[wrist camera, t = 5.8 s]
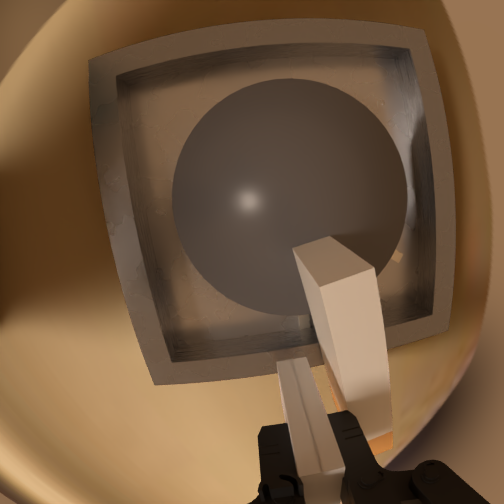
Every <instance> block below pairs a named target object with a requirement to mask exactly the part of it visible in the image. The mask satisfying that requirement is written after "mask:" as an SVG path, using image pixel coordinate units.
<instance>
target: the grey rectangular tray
mask: <svg viewBox="0 0 504 504" xmlns="http://www.w3.org/2000/svg"><path fill="white" fill-rule="evenodd" d="M286 78H294V79H306V80H311V81H316V82H320V83H324V84H327V85H329V86H332V87H335V88H337V89H339V90H341V91H343V92H345V93H347V94H349V95H351V96H352V97H354V98H355V99H357V100H358V101H359V102H361V103H362V104H364V105H365V106H366V107H367V108H368V109H369V110H370V111H371V112H372V113H373V114H374V115H375V116H376V117H377V118H378V119H379V120H380V122H381V123H382V124H383V125H384V126H385V128H386V129H387V131H388V133H389V134H390V136H391V137H392V139H393V141H394V143H395V145H396V147H397V149H398V151H399V154H400V157H401V160H402V163H403V166H404V170H405V175H406V181H407V193H408V202H407V214H406V219H405V224H404V228H403V232H402V235H401V238H400V241H399V243H398V245H397V247H396V249H395V252H394V254H393V255H392V257H391V259H390V260H389V262H388V263H387V265H386V267H385V268H384V269H383V270H382V272H381V273H380V274H379V275H378V276H377V278H376V279H377V285H378V290H379V296H380V303H381V309H382V316H383V323H384V330H385V338H386V347H387V349H390V348H394V347H397V346H401V345H404V344H408V343H411V342H414V341H417V340H421V339H424V338H427V337H430V336H433V335H436V334H439V333H442V332H445V331H448V329H449V322H450V315H451V306H452V297H453V286H454V272H455V250H456V210H455V189H454V175H453V164H452V155H451V147H450V139H449V132H448V126H447V120H446V114H445V109H444V104H443V99H442V94H441V90H440V85H439V81H438V77H437V73H436V69H435V65H434V62H433V58H432V55H431V51H430V48H429V44H428V41H427V38H426V35H425V32H424V30H423V29H417V28H412V27H407V26H401V25H394V24H387V23H379V22H370V21H360V20H347V19H325V18H294V19H272V20H258V21H248V22H239V23H231V24H223V25H217V26H210V27H205V28H199V29H194V30H189V31H184V32H179V33H175V34H170V35H166V36H162V37H158V38H154V39H151V40H147V41H144V42H140V43H137V44H133V45H130V46H127V47H124V48H121V49H118V50H115V51H112V52H109V53H106V54H103V55H101V56H98V57H95V58H93V59H90V60H89V98H90V113H91V125H92V135H93V144H94V153H95V160H96V168H97V175H98V181H99V187H100V193H101V199H102V205H103V210H104V215H105V220H106V225H107V230H108V235H109V239H110V244H111V248H112V252H113V256H114V261H115V265H116V269H117V272H118V276H119V280H120V284H121V287H122V291H123V294H124V298H125V301H126V305H127V308H128V311H129V315H130V318H131V321H132V324H133V327H134V330H135V333H136V336H137V339H138V342H139V345H140V348H141V351H142V354H143V357H144V359H145V362H146V365H147V367H148V369H149V372H150V375H151V377H152V380H153V382H154V385H171V384H187V383H200V382H211V381H221V380H230V379H239V378H247V377H254V376H261V375H268V374H274V373H278V370H277V362H278V361H284V360H290V359H296V358H302V357H306V358H307V360H308V363H309V366H310V367H314V366H319V365H324V360H323V357H322V353H321V349H320V345H319V341H318V338H317V334H316V330H315V326H314V323H313V319H312V315H311V314H306V315H296V316H283V315H273V314H267V313H263V312H259V311H255V310H252V309H250V308H247V307H244V306H242V305H240V304H238V303H236V302H234V301H232V300H230V299H228V298H227V297H226V296H224V295H223V294H221V293H220V292H219V291H217V290H216V289H215V288H214V287H213V286H211V285H210V284H209V283H208V282H207V281H206V280H205V279H204V278H203V277H202V275H201V274H200V273H199V272H198V271H197V269H196V268H195V267H194V265H193V264H192V262H191V261H190V259H189V257H188V256H187V254H186V252H185V250H184V248H183V246H182V244H181V241H180V239H179V236H178V233H177V229H176V226H175V222H174V215H173V209H172V186H173V178H174V172H175V168H176V165H177V161H178V158H179V155H180V153H181V150H182V148H183V146H184V143H185V142H186V140H187V138H188V136H189V135H190V133H191V131H192V130H193V128H194V127H195V126H196V125H197V123H198V122H199V121H200V120H201V118H202V117H203V116H204V115H205V114H206V113H207V112H208V111H209V110H210V109H211V108H212V107H213V106H215V105H216V104H217V103H218V102H220V101H221V100H223V99H224V98H226V97H227V96H228V95H230V94H232V93H234V92H236V91H238V90H240V89H242V88H244V87H247V86H250V85H253V84H255V83H258V82H263V81H268V80H273V79H286Z"/></svg>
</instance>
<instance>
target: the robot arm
mask: <svg viewBox="0 0 504 504" xmlns="http://www.w3.org/2000/svg"><path fill="white" fill-rule="evenodd" d="M277 370H278V377H279V385H280V393H281V401H282V407H283V412H284V418H285V423H283V424H276V425H269V426H262V428H261V430H260V432H259V434H258V447H259V460H260V472H261V482H260V484H259V487H258V493H259V495H258V496H257V498H256V499H254V500H253V501H252V502H250V503H248V504H340V501H342V504H490V503H489V502H488V501H486V500H485V499H484V498H483V497H482V496H481V495H479V494H478V493H477V492H476V491H475V490H474V489H473V488H472V487H470V486H469V485H468V484H467V483H466V482H465V481H464V480H462V479H461V478H460V477H459V476H458V475H457V474H456V473H455V472H453V471H452V470H451V469H450V468H449V467H448V466H447V465H445V464H444V463H442V462H441V461H438V460H427V461H424V462H422V463H420V464H419V465H418V466H417V467H416V468H415V469H414V470H408V471H389V470H386V469H384V468H382V467H381V466H380V465H379V464H378V463H377V461H376V460H375V457H374V455H373V453H372V451H371V448H370V446H369V444H368V442H367V440H366V437H365V435H364V433H363V431H362V429H361V427H360V424H359V422H358V420H357V418H356V416H355V415H353V414H352V413H351V412H350V411H348V410H344V411H340V412H336V413H332V414H327V413H326V410H325V408H324V405H323V402H322V399H321V396H320V394H319V391H318V388H317V385H316V382H315V380H314V377H313V374H312V371H311V369H310V366H309V363H308V360H307V358H306V357H302V358H296V359H290V360H284V361H278V362H277Z"/></svg>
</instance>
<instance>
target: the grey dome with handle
mask: <svg viewBox="0 0 504 504" xmlns="http://www.w3.org/2000/svg"><path fill="white" fill-rule="evenodd" d="M407 202H408V193H407V181H406V175H405V170H404V166H403V163H402V160H401V157H400V154H399V151H398V149H397V147H396V145H395V143H394V141H393V139H392V137H391V136H390V134H389V133H388V131H387V129H386V128H385V126H384V125H383V124H382V123H381V122H380V120H379V119H378V118H377V117H376V116H375V115H374V114H373V113H372V112H371V111H370V110H369V109H368V108H367V107H366V106H365V105H364V104H362V103H361V102H359V101H358V100H357V99H355V98H354V97H352V96H351V95H349V94H347V93H345V92H343V91H341V90H339V89H337V88H335V87H332V86H329V85H327V84H324V83H320V82H316V81H311V80H306V79H294V78H286V79H273V80H268V81H263V82H258V83H255V84H253V85H250V86H247V87H244V88H242V89H240V90H238V91H236V92H234V93H232V94H230V95H228V96H227V97H226V98H224V99H223V100H221V101H220V102H218V103H217V104H216V105H215V106H213V107H212V108H211V109H210V110H209V111H208V112H207V113H206V114H205V115H204V116H203V117H202V118H201V120H200V121H199V122H198V123H197V125H196V126H195V127H194V128H193V130H192V131H191V133H190V135H189V136H188V138H187V140H186V142H185V143H184V146H183V148H182V150H181V153H180V155H179V158H178V161H177V165H176V168H175V172H174V178H173V186H172V209H173V215H174V222H175V226H176V229H177V233H178V236H179V239H180V241H181V244H182V246H183V248H184V250H185V252H186V254H187V256H188V257H189V259H190V261H191V262H192V264H193V265H194V267H195V268H196V269H197V271H198V272H199V273H200V274H201V275H202V277H203V278H204V279H205V280H206V281H207V282H208V283H209V284H210V285H211V286H213V287H214V288H215V289H216V290H217V291H219V292H220V293H221V294H223V295H224V296H226V297H227V298H228V299H230V300H232V301H234V302H236V303H238V304H240V305H242V306H244V307H247V308H250V309H252V310H255V311H259V312H263V313H267V314H273V315H283V316H296V315H306V314H311V315H312V319H313V323H314V326H315V330H316V334H317V338H318V341H319V345H320V349H321V353H322V357H323V360H324V364H325V368H326V372H327V376H328V380H329V384H330V388H331V392H332V396H333V400H334V402H335V405H336V407H337V410H338V412H340V411H344V410H348V411H350V412H351V413H352V414H353V415H355V416H356V418H357V420H358V422H359V424H360V427H361V429H362V431H363V433H364V435H365V437H366V440H367V442H368V444H369V446H370V448H371V451H372V453H373V455H377V454H379V453H382V452H384V451H387V450H389V449H391V448H393V433H392V406H391V390H390V377H389V366H388V356H387V347H386V338H385V330H384V323H383V316H382V309H381V303H380V296H379V290H378V285H377V279H376V278H377V276H378V275H379V274H380V273H381V272H382V270H383V269H384V268H385V267H386V265H387V263H388V262H389V260H390V259H391V257H392V255H393V254H394V252H395V249H396V247H397V245H398V243H399V241H400V238H401V235H402V232H403V228H404V224H405V219H406V214H407Z"/></svg>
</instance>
